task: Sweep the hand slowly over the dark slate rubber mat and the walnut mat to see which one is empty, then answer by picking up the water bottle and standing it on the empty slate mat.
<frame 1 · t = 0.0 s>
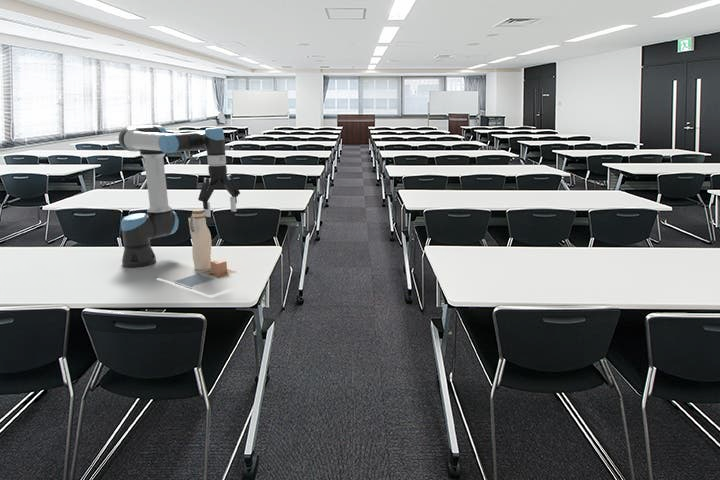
hand: (221, 213, 227), 28 cm above the table, tool pointing down, fingers open, 13 cm apart
water bottle: (203, 269, 242), on the table
slate mat: (194, 282, 225), on the table
walnut mat: (219, 274, 235), on the table
terracotta block: (219, 272, 235), point 1 cm above the table, touching walnut mat
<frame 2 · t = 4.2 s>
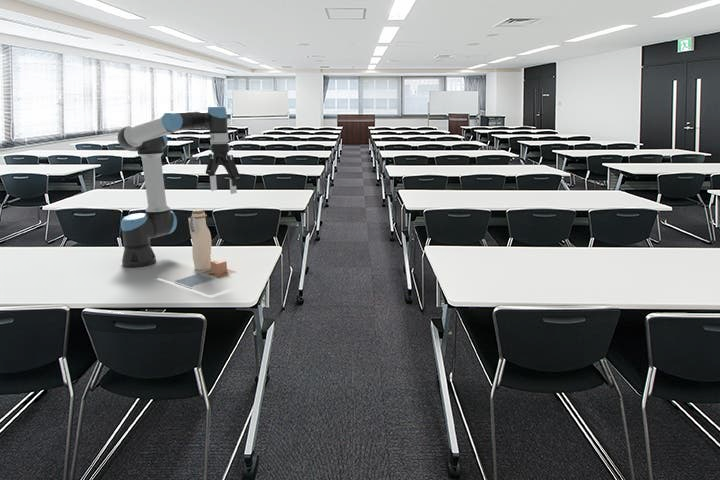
hand: (223, 191, 230), 37 cm above the table, tool pointing down, fingers open, 13 cm apart
nothing on the table moved.
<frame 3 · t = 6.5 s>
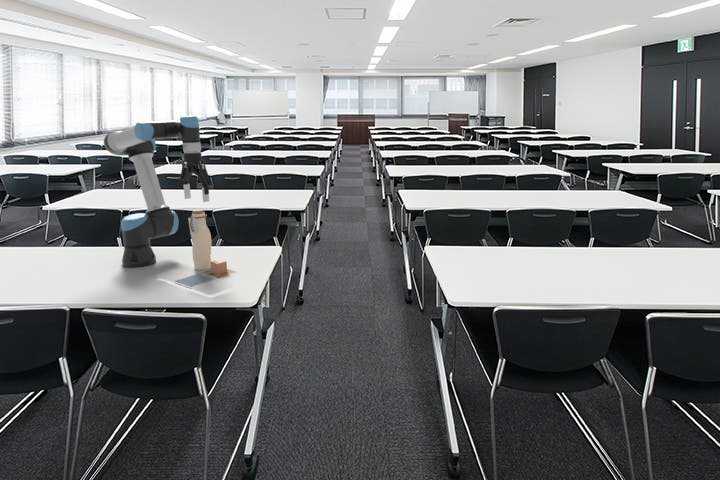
hand: (196, 200, 233), 33 cm above the table, tool pointing down, fingers open, 13 cm apart
nothing on the table moved.
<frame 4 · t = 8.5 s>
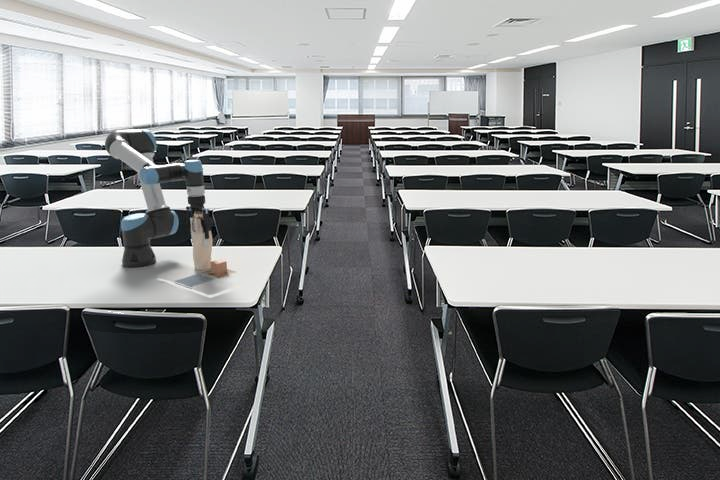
hand: (200, 243, 239), 12 cm above the table, tool pointing down, fingers closed on water bottle, 8 cm apart
water bottle: (203, 269, 242), on the table, touching gripper
everything else where it was.
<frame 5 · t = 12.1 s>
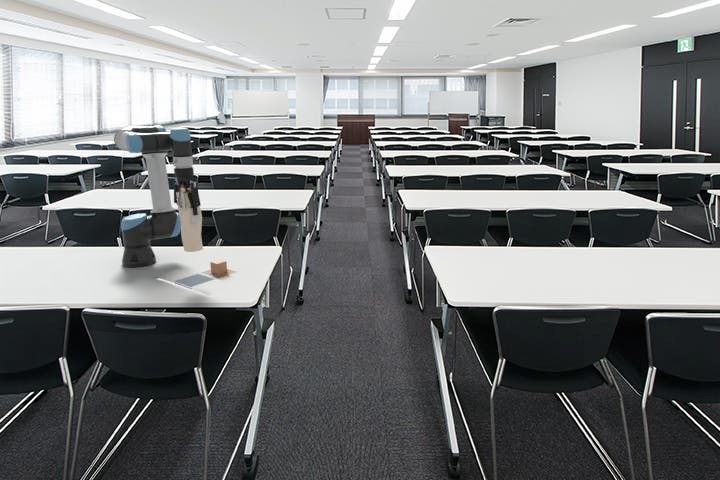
hand: (188, 221, 218), 27 cm above the table, tool pointing down, fingers closed on water bottle, 8 cm apart
water bottle: (193, 250, 221), point 14 cm above the table, touching gripper
everything else where it was.
when the fingers open (15 cm above the table, at t = 15.3 s): water bottle drops 1 cm, resting on slate mat.
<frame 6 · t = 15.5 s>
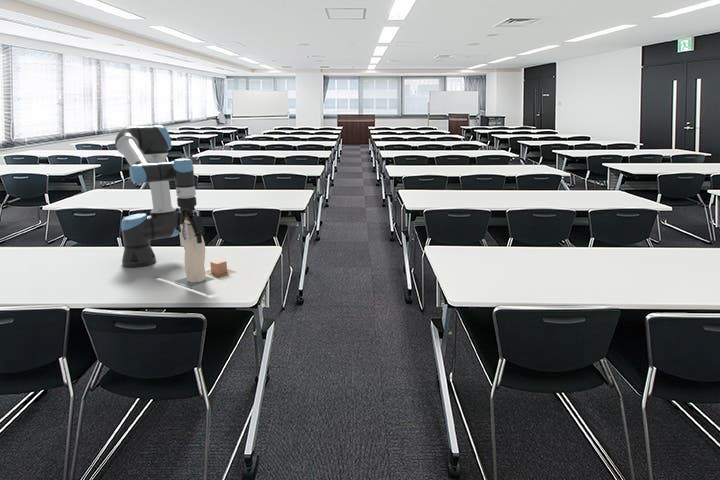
hand: (191, 248, 221), 15 cm above the table, tool pointing down, fingers open, 10 cm apart
water bottle: (196, 280, 224), point 1 cm above the table, touching slate mat
everything else where it was.
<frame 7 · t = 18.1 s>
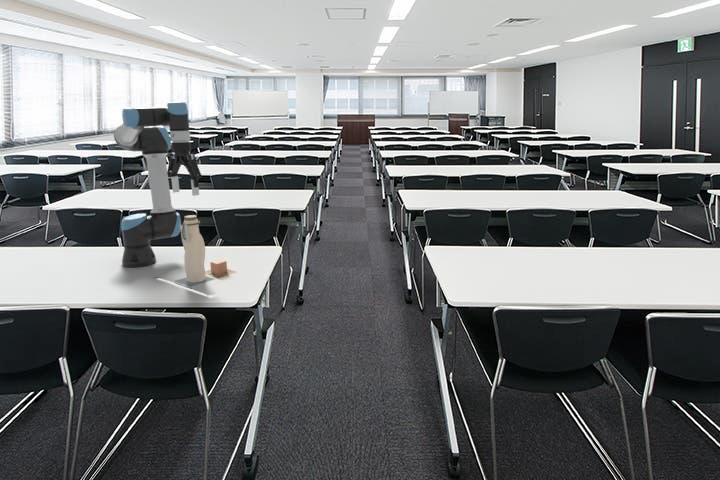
hand: (185, 193, 215), 39 cm above the table, tool pointing down, fingers open, 13 cm apart
nothing on the table moved.
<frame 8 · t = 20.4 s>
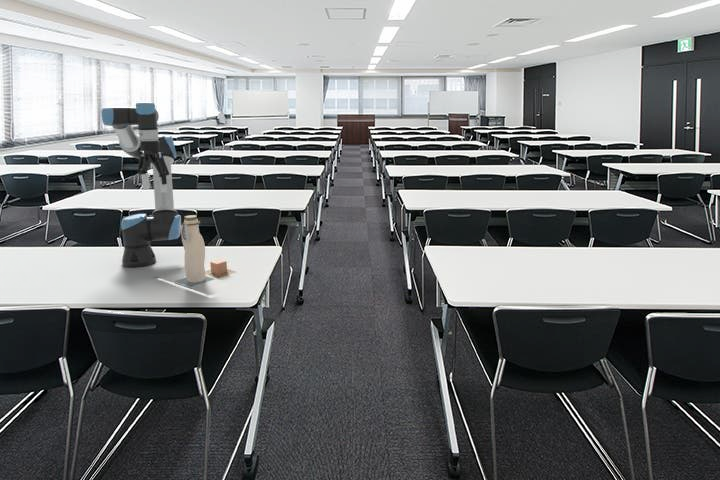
hand: (155, 190, 223), 39 cm above the table, tool pointing down, fingers open, 13 cm apart
nothing on the table moved.
at the end: water bottle inside the target area on the slate mat (0.8 cm from its centre), point 0.8 cm above the slate mat's base; water bottle tilted 0°; the gripper is holding nothing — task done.
